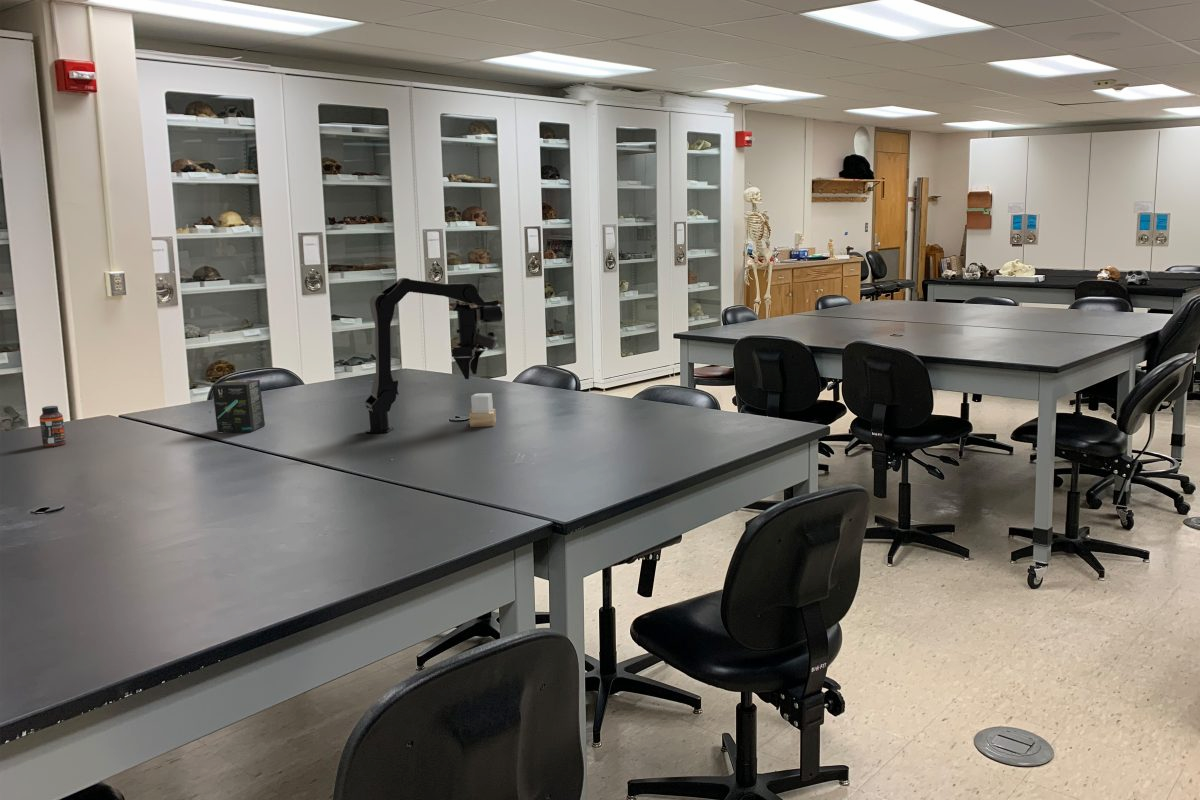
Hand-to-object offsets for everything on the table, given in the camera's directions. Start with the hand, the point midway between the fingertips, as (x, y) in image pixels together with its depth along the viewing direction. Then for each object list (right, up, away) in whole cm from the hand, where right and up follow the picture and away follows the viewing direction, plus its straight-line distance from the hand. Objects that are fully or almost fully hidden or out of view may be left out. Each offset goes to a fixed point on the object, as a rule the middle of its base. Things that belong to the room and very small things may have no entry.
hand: (471, 376), depth 293 cm
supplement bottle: (-119, -20, -12) cm, 121 cm away
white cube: (+4, -11, -7) cm, 13 cm away
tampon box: (-69, -16, 0) cm, 71 cm away
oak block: (+4, -14, -6) cm, 16 cm away
